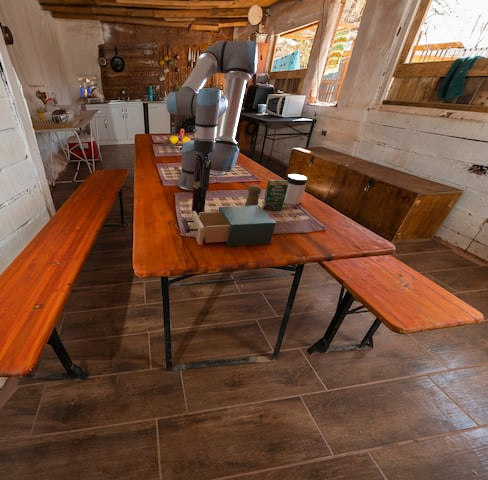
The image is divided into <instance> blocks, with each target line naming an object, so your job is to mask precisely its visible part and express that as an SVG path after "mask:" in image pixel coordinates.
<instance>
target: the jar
mask: <svg viewBox="0 0 488 480" xmlns="http://www.w3.org/2000/svg"><path fill="white" fill-rule="evenodd" d="M286 180H287V181H288V182H289V184H288V188H287V192H286V196H285V200H284V203H283V204H285V205H286V204H287V205H291V206H296V205H299V204H301V202H302V199H303V196H304V193H305V191H306V187H307V182H308V177H307V176H305V175H302V174H298V173H290V174H288V175H287V178H286Z"/></svg>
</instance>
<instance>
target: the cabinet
mask: <svg viewBox="0 0 488 480" xmlns="http://www.w3.org/2000/svg"><path fill="white" fill-rule="evenodd" d="M218 211H221V213H222V214H223V216H224V217H225V219H226V220H227V221H228V223H229V224H230V232H229V237H228V242H224V243H225V244H226V246H227V247H240V246H241V247H244V246H259V245H270V244H271V242H272V239H273V235H274V231H275V228H276V224H277V222H276V220H274V219H273V218H272V216H270V215H269V214H268V213H267V212H266V211H265V209H263V207H261V206H260V205H259V204H258V205H256V206H245V205H236V206H235V205H234V206H233V205H232V206H218Z"/></svg>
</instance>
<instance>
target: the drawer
mask: <svg viewBox="0 0 488 480" xmlns="http://www.w3.org/2000/svg"><path fill="white" fill-rule="evenodd" d="M181 223H182V225H183V228H184V232H185V233H186V234H189V233H191V232H192V233H193V235H194V237H195V239H196V242H197V244H198V246H203V241H204V243H205V244H210V243H225V242H228V237H229V232H230V224H229V223H228V221H227V220H226V219H225V217H224V216H223V214H222V213H221V211H219V210H217V211H216V210H215V211H204V212H199V216H198V215H197V213H196V211H192V210H191V220H187V219H186V218H184V219H182V220H181ZM189 223H190V226H189Z"/></svg>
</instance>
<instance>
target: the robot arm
mask: <svg viewBox="0 0 488 480" xmlns="http://www.w3.org/2000/svg"><path fill="white" fill-rule="evenodd" d="M195 64H196V65H195V66H194V68H193V69H192V71H191V72H190V73H189V75H188V76H187V78H186V79H185V81H184V82H183V84H182V85H181V87H180V88H179V90H178V91H170V92H169V93H168V94H167V95H166V96H167V97H166V101H165V105H166V110H167V113H169V114H172V115H176V116H191V117H195V121H194V122H195V123H194V128H193V129H192V131H193V133H194V139H191V140H186V141H185V142H184V143H183V144H182V151H181V170H180V168H178V166H175V167H174V170H177V171H178V172H179V177H178V180H177V184H176V185H177V186H176V187H177V188H178V189H179V190H181V191H184V192H189V193H191V192H192V193H193V187H194V183H195V182H200V187H198V188H199V190H198V201H197V203H198V204H205V205H206V201H205V195H206V196H207V192H206V188H207V189H209V186H210V176H211V174H210V171H211V170H214V171H220V172H225V173H230V172H232V171H233V169H234V168H235V166H236V163H237V160H238V158H239V153H240V148H239V147H238V142H237V141H236V139H235V138H236V135H237V129H238V124H239V120H240V115H241V109H242V105H243V100H244V95H245V91H246V87H247V86H246V85H247V83H248V82H249V81H250V80H251V78H252V75H255V74H256V73H257V65H258V43H257V42H256V41H255V40H247V39H246V40H223V41H217V42H215V43H213V44H211V45H210V46H208V47H207V48H206V49H204V50H203V51H202V52H201V53H200V55H199V56H198V57H197V59H196V63H195ZM215 74H224V75H223V77H224V80H225V81H226V83H225V88H224V93H223V94H222V90H221V89H220V88H215V87H205V86H206V85H207V83H208V81H209V80H210V78H211V77H213V76H214V75H215Z"/></svg>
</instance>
